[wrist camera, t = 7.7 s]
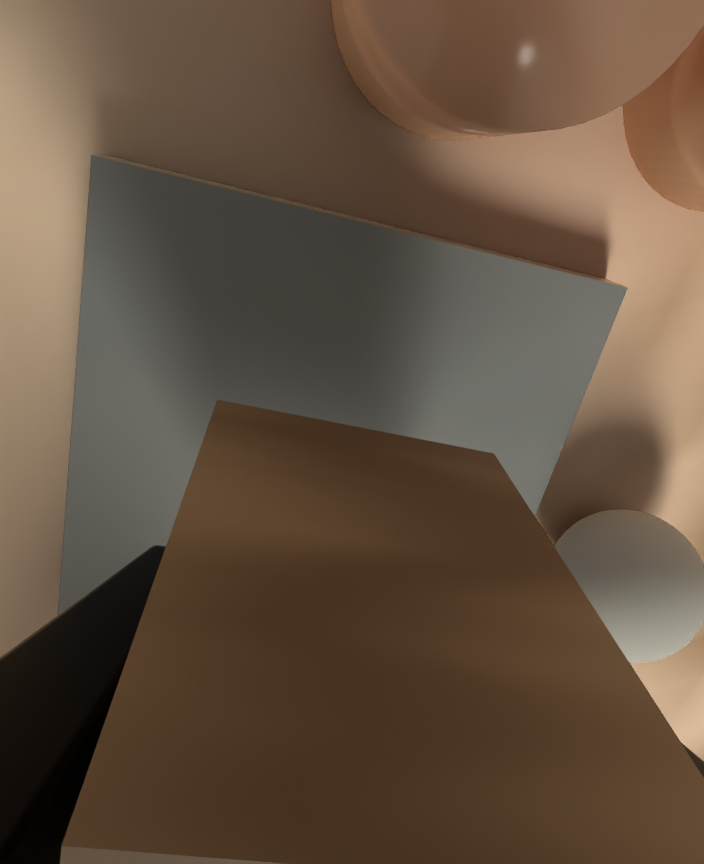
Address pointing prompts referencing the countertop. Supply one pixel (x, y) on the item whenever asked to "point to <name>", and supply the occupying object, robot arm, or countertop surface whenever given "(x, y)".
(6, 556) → the countertop surface
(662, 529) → the grey ball
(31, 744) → the robot arm
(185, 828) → the walnut block
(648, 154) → the peach rounded capsule
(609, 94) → the peach capsule shape
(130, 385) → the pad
